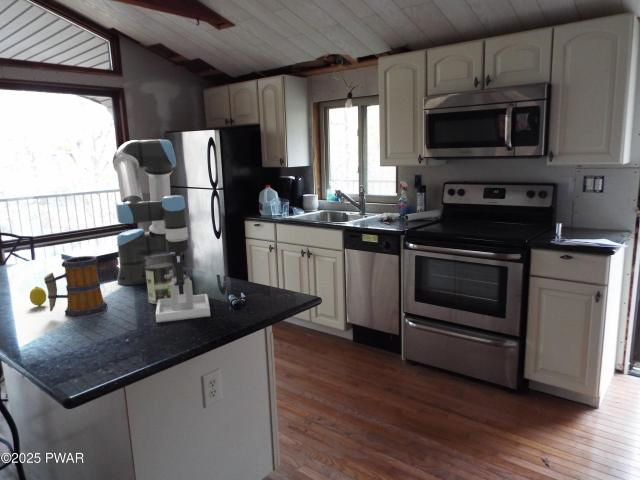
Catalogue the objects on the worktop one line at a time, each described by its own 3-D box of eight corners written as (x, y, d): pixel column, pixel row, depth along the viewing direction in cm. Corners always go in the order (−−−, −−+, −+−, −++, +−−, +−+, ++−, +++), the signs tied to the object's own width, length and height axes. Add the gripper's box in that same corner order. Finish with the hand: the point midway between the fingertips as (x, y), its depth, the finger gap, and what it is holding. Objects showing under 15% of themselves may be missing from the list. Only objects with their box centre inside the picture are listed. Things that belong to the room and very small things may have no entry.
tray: (158, 306, 181) (157, 299, 180) (207, 301, 186) (206, 293, 185) (156, 322, 164) (155, 314, 163) (210, 316, 169) (209, 307, 168)
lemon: (45, 303, 191) (42, 283, 189) (49, 306, 187) (46, 286, 185) (29, 306, 187) (26, 287, 186) (33, 309, 183) (30, 289, 182)
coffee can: (180, 296, 194) (177, 262, 191) (167, 304, 184) (164, 268, 181) (157, 295, 196) (153, 262, 193) (143, 303, 186) (139, 268, 183)
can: (190, 312, 171) (187, 280, 169) (169, 313, 171) (166, 280, 169) (196, 305, 178) (193, 274, 176) (176, 306, 179) (173, 275, 176)
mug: (51, 324, 166) (42, 268, 163) (48, 313, 178) (40, 260, 175) (110, 312, 176) (104, 259, 173) (104, 303, 188) (98, 253, 185)
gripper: (166, 234, 181) (172, 289, 185) (164, 246, 157) (170, 308, 161) (187, 233, 183) (192, 287, 187) (188, 244, 159) (193, 306, 163)
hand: (182, 297), depth 174 cm, fingers open, 13 cm apart
